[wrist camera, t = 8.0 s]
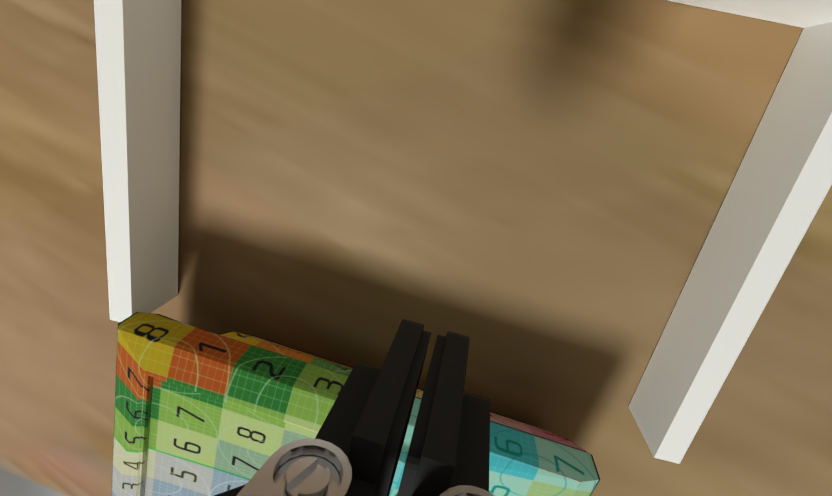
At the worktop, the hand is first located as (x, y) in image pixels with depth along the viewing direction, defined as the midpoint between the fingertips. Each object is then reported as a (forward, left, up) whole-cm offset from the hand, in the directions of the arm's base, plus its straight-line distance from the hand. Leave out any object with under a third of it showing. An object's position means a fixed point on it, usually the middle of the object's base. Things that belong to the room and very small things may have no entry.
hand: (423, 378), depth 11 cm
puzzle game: (+3, +11, -9) cm, 14 cm away
